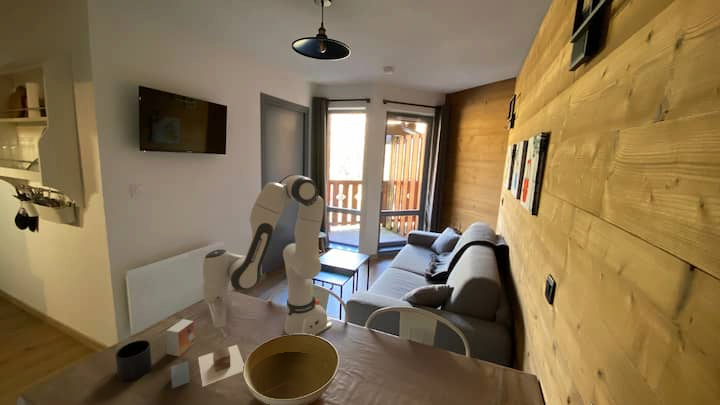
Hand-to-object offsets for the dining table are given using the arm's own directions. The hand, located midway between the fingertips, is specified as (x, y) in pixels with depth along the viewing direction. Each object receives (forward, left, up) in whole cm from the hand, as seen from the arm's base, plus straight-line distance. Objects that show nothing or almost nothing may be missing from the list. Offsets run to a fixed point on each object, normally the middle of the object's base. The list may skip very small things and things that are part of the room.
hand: (216, 324), depth 105 cm
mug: (+26, -6, -13) cm, 30 cm away
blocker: (-1, +8, -12) cm, 15 cm away
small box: (+11, -10, -13) cm, 20 cm away
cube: (+12, +8, -13) cm, 20 cm away
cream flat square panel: (-1, +7, -13) cm, 14 cm away
